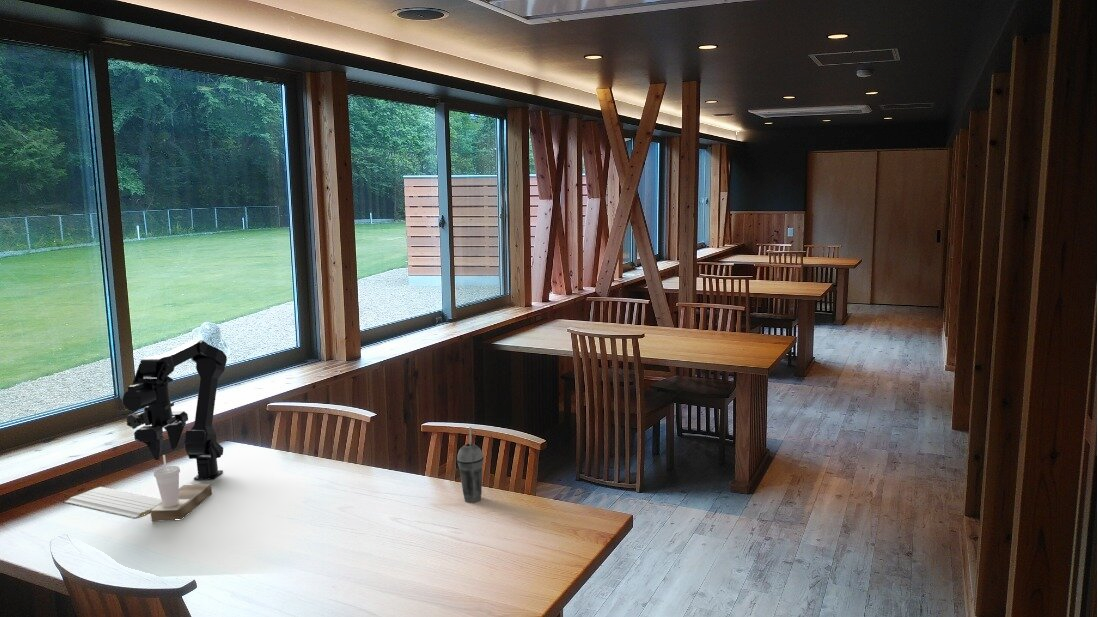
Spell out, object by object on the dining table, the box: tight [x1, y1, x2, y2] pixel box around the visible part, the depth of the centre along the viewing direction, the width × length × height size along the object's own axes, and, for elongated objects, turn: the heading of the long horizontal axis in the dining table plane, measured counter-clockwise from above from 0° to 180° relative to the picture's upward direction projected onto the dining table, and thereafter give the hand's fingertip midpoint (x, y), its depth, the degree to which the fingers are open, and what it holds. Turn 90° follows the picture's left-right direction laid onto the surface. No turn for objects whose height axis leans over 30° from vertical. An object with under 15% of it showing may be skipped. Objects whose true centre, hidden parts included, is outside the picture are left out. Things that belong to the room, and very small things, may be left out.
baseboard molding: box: [60, 483, 162, 519], centre depth 220 cm, size 31×3×12 cm
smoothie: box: [153, 454, 181, 507], centre depth 208 cm, size 6×6×14 cm
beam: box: [150, 483, 213, 522], centre depth 215 cm, size 18×8×3 cm, turn 179°
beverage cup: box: [456, 426, 485, 504], centre depth 209 cm, size 7×7×20 cm
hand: (165, 454), depth 220 cm, fingers open, 9 cm apart
